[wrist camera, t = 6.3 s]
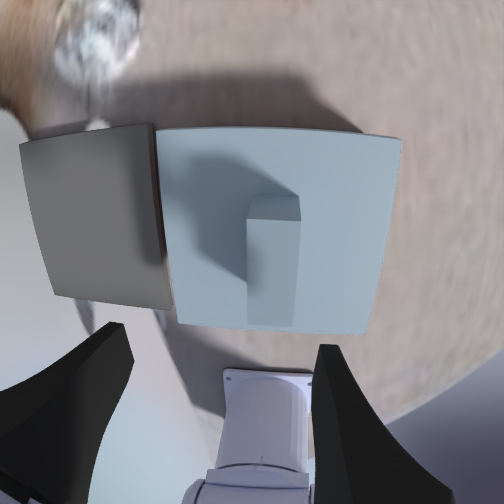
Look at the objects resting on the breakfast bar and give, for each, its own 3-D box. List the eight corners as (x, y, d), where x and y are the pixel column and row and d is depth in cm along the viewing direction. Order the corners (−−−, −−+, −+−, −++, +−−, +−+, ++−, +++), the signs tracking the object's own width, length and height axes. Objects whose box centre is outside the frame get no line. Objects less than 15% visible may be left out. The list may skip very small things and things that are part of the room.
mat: (172, 304, 24) (169, 310, 23) (59, 289, 25) (55, 295, 24) (152, 123, 17) (147, 125, 17) (25, 142, 18) (19, 144, 18)
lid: (362, 325, 18) (373, 372, 15) (181, 315, 19) (163, 358, 16) (396, 137, 13) (428, 152, 10) (162, 128, 14) (126, 141, 11)
